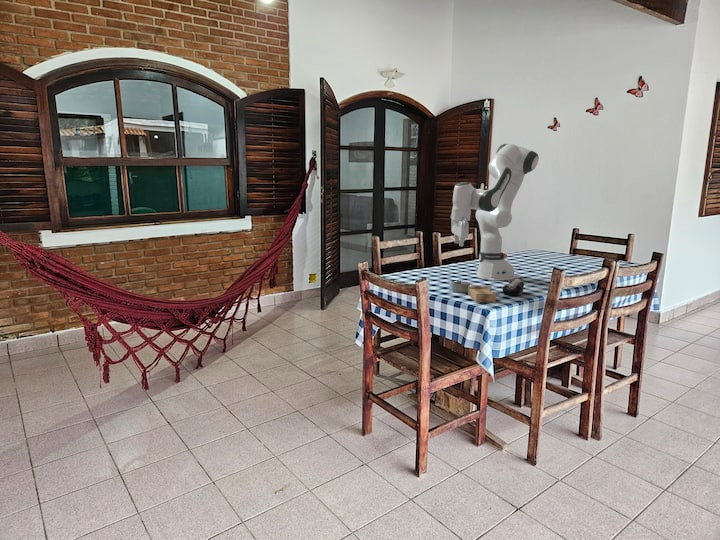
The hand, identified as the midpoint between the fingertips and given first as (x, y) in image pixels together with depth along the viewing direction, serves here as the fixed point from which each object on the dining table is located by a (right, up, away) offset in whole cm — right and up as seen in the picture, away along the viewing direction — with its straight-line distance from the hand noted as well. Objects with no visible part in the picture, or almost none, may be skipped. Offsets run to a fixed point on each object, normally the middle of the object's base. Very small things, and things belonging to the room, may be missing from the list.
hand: (458, 244), depth 241 cm
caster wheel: (+26, -24, -2) cm, 36 cm away
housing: (+1, -23, +2) cm, 23 cm away
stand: (+8, -25, -10) cm, 29 cm away
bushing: (+14, -23, +1) cm, 27 cm away
